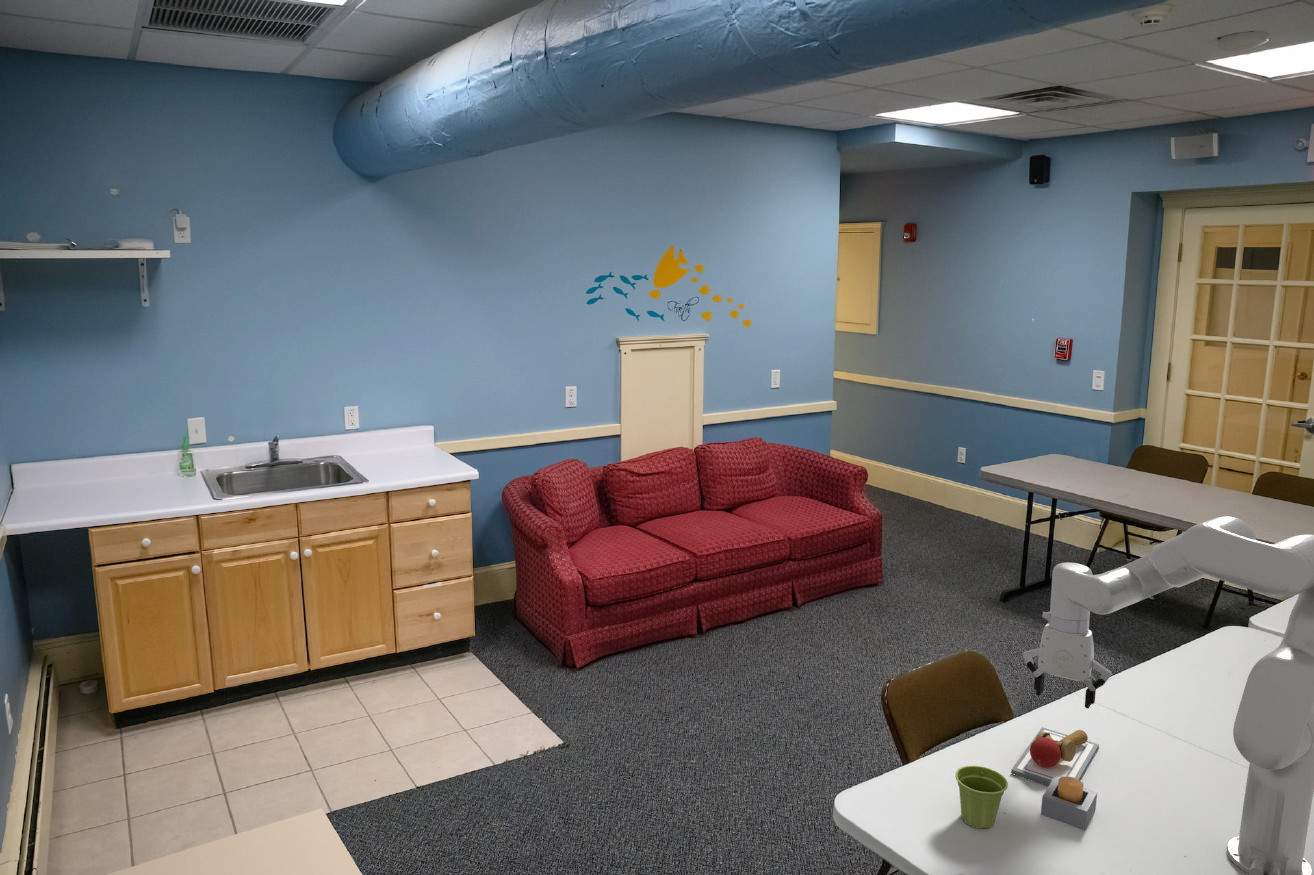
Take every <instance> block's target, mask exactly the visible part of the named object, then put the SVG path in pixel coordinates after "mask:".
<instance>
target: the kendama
mask: <svg viewBox="0 0 1314 875" xmlns="http://www.w3.org/2000/svg"><path fill="white" fill-rule="evenodd" d="M1038 732H1039V731H1038ZM1038 732H1037V733H1038ZM1036 735H1037V734H1036ZM1067 735H1068V736H1066V737H1064V738H1063V739H1061V740H1060V741H1055V740H1054V739H1053V738H1052V737H1051V736H1050V734H1049V733H1047V732H1044V731H1041V732H1039V733H1038V735H1037V737H1036V740H1034V741H1033V742H1032V741H1031V742H1032V744H1031V746H1030V755H1031V757H1032V759H1033V761H1034V762H1035V763H1036V764H1038V765H1039V766H1041V767H1043V768H1049V767H1053V766H1055V765H1056V764H1057V763H1058V762H1059V761H1060V758H1062V759H1063V760H1064V761H1067V762H1070V761H1072V760H1073V758H1074V756H1075V752H1076V745H1080V744H1084V743H1086V742H1087V741H1089V740H1088V737H1089V736H1088V735H1087V732H1086V731H1084V730H1083V729H1077V730H1076V731H1073V732H1072V733H1070V734H1067Z"/></svg>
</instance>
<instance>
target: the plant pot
mask: <svg viewBox="0 0 1314 875" xmlns="http://www.w3.org/2000/svg"><path fill="white" fill-rule="evenodd" d="M955 779H956V781H957V786H958V787H959V788H958V789H959V790H958V791H959V801H960V813H961V814H960V816H961V818H962V819H963V821H964V823H965V824H967V825H969V826H970V825H971V826H970V827H973V828H976V829H983V828H985V829H991V828H992V827H994V826H995V824H996V821H997V817H998V812H999V809H1000V805H1001V801H1002V798H1003V795H1004V794H1005V791H1007V789H1008V787H1009V782H1008V780H1007V778H1006V777H1004V775H1002V774H1001V773H999V771H996V770H995V769H992V768H989V767H985V766H981V765H980V766H979V765H965V766H962V767H960V768H958V769H957V770H956V771H955Z"/></svg>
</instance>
